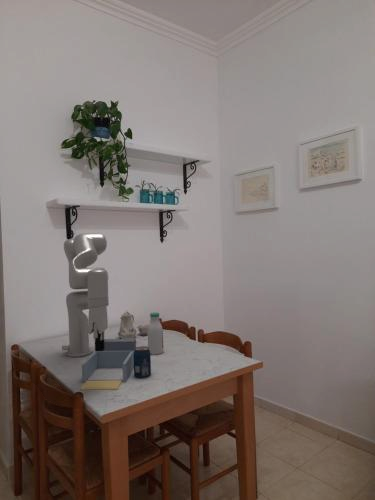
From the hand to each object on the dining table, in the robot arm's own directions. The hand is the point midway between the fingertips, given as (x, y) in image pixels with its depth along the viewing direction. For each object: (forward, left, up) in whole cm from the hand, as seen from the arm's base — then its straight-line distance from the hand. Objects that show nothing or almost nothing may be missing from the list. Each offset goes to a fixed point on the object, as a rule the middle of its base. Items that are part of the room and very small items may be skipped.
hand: (99, 350), depth 135 cm
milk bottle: (+15, +45, -15) cm, 50 cm away
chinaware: (-3, +73, -15) cm, 75 cm away
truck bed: (0, +16, -15) cm, 22 cm away
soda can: (+14, +12, -15) cm, 24 cm away
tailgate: (0, +5, -14) cm, 15 cm away
